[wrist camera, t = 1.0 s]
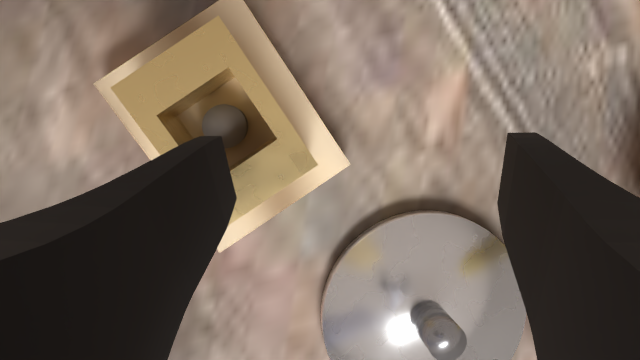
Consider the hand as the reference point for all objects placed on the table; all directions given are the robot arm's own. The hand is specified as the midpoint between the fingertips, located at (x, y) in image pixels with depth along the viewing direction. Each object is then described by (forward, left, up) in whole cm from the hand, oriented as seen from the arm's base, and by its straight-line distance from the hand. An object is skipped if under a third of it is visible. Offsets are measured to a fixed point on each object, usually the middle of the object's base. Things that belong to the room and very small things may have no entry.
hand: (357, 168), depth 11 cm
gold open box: (-3, +3, -11) cm, 12 cm away
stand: (-3, +3, -13) cm, 14 cm away
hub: (0, -12, -13) cm, 18 cm away
